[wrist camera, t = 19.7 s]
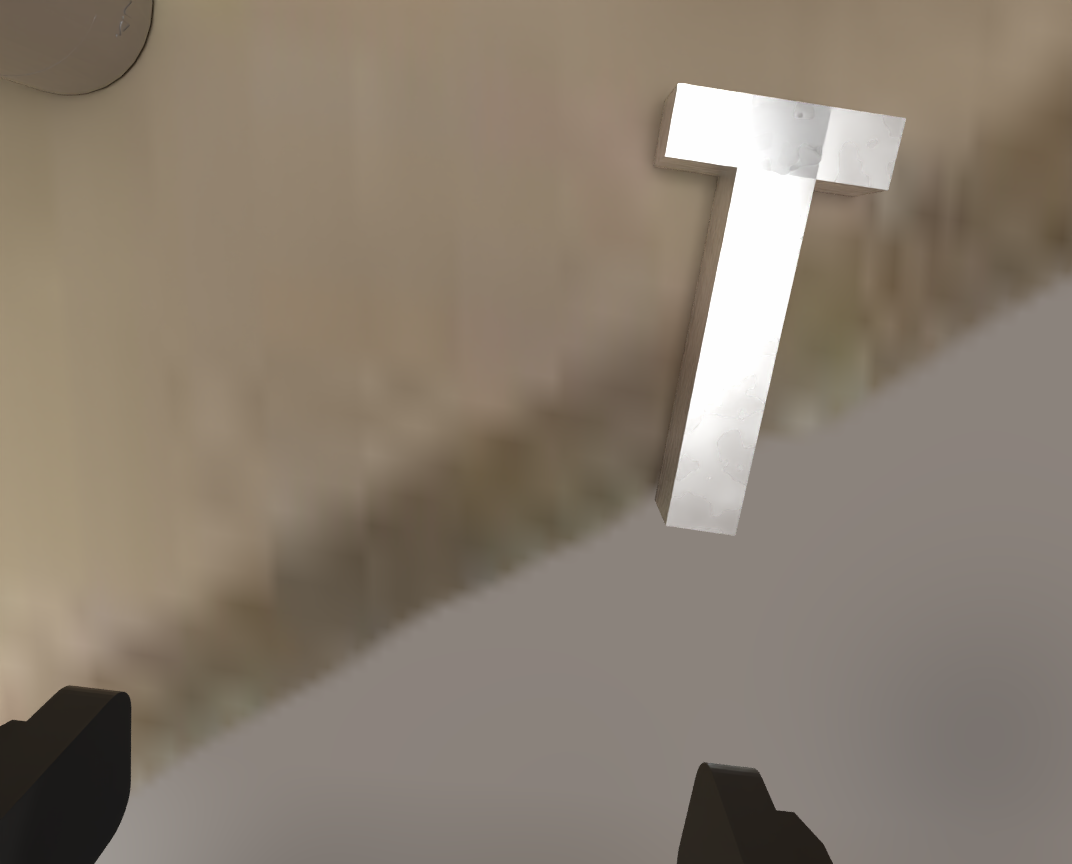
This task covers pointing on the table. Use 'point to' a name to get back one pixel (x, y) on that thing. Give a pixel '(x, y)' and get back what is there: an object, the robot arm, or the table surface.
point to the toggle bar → (748, 270)
